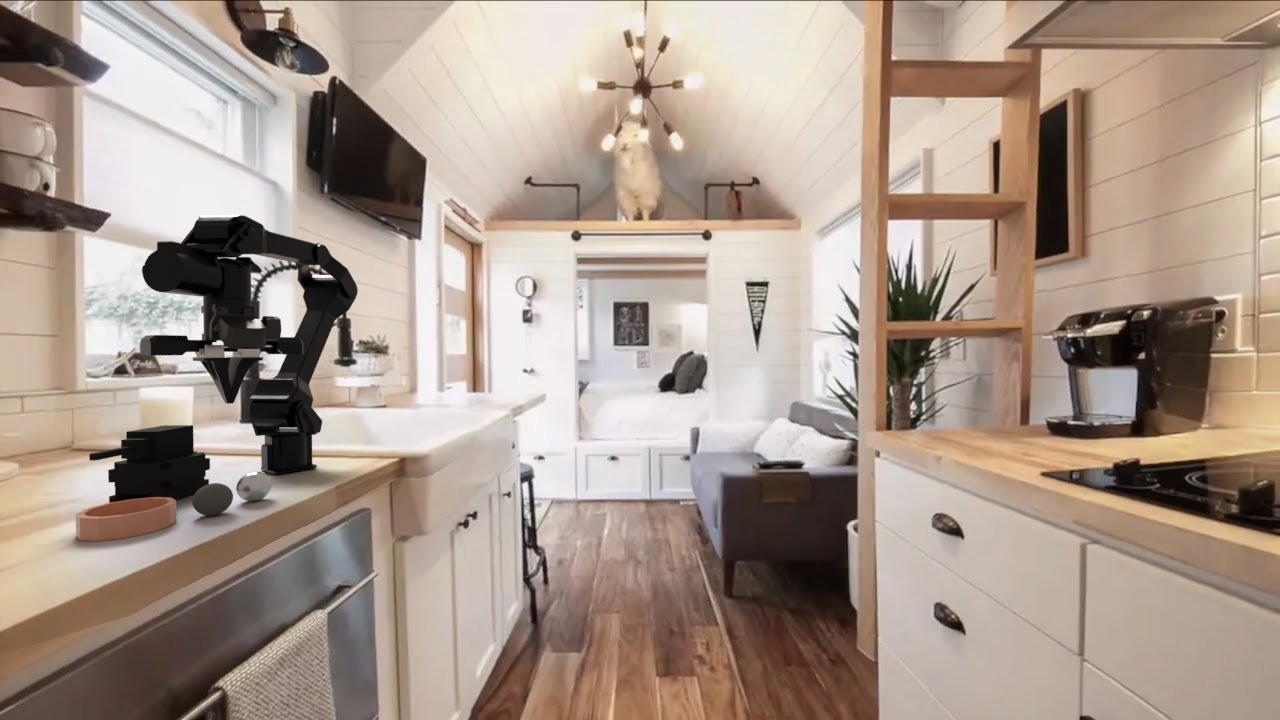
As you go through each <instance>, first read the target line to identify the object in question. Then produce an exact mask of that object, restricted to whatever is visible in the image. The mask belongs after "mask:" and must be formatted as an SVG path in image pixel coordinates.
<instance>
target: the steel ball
mask: <svg viewBox="0 0 1280 720" xmlns="http://www.w3.org/2000/svg"><path fill="white" fill-rule="evenodd" d="M272 487H273V482H272V479H271V477H269V475H268V474H266V473H264V472H261V471H252V472H248V473H246V474H245V475H243V476H241V478H240V479H238V481H237V483H236V487H235V488H236V489H235V491H236V493H237V495H238V497H239V498H240V499H241V500H243V501H245V502H246V501H247V502H257V501H260V500H262V499H264V498H265V497H267V495H269V494H270V492H271V490H272Z"/></svg>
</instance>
